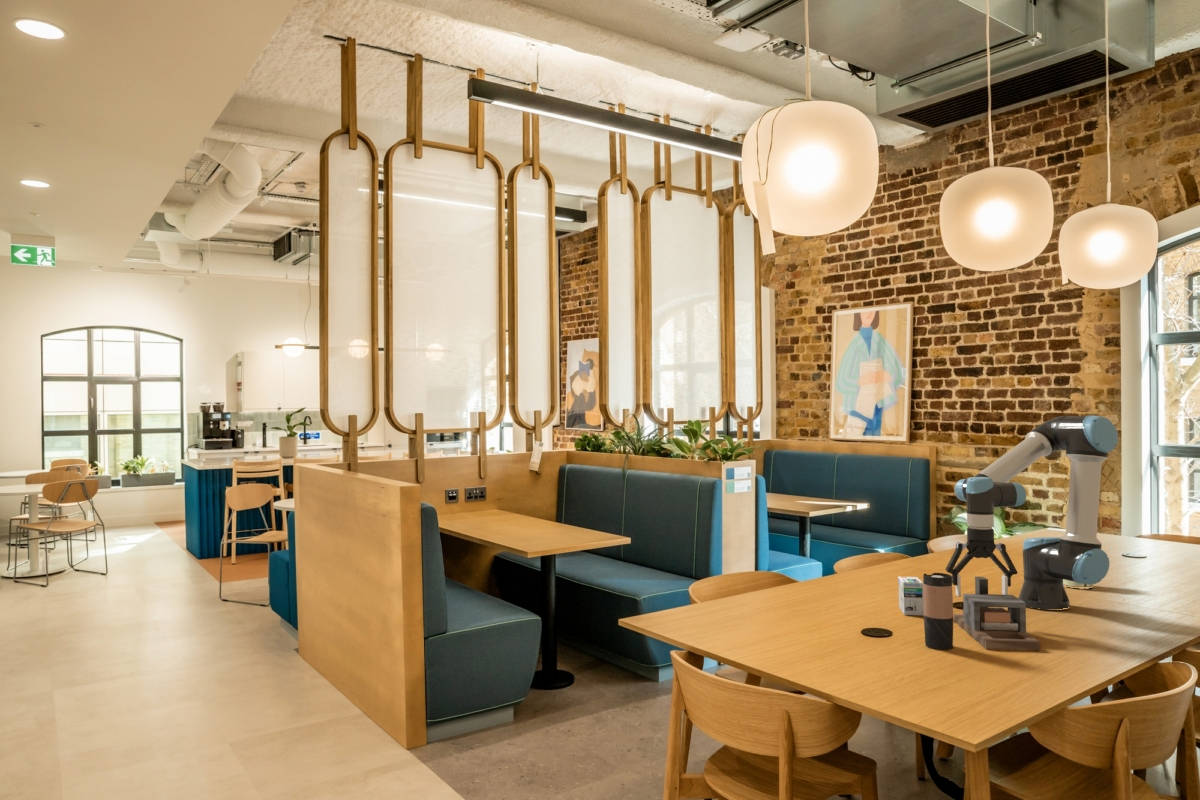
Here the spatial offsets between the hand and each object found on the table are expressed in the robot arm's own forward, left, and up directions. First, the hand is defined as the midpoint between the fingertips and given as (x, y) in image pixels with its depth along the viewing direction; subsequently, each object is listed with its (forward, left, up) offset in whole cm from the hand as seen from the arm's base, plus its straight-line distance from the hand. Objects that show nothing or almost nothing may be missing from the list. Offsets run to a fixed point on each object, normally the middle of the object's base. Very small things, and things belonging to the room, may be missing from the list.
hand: (981, 596), depth 242 cm
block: (0, +10, -7) cm, 12 cm away
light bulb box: (+17, -17, -9) cm, 25 cm away
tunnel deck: (0, +10, -9) cm, 14 cm away
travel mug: (+19, +23, -9) cm, 32 cm away
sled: (0, +6, -6) cm, 9 cm away
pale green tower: (-53, -62, -9) cm, 82 cm away
